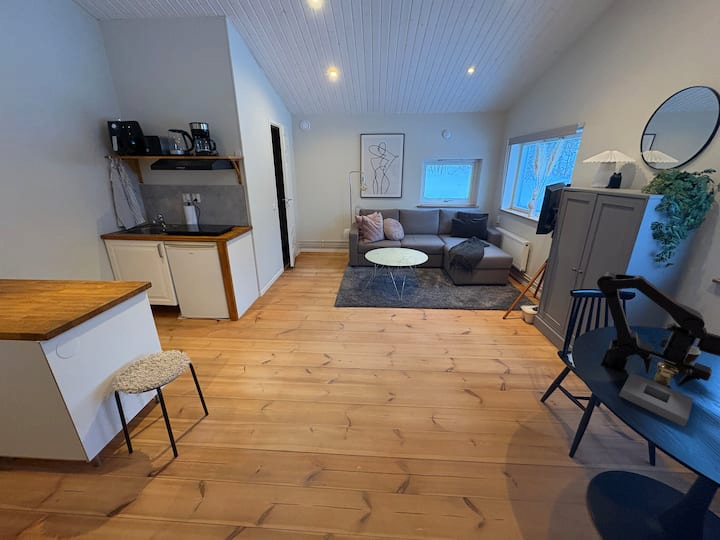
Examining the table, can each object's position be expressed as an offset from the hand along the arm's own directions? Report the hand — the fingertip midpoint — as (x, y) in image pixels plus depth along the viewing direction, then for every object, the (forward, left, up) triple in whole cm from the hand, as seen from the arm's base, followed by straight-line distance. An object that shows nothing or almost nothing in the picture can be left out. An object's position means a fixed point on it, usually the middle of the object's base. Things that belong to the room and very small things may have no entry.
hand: (662, 379), depth 108 cm
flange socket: (0, -14, -2) cm, 14 cm away
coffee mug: (+1, +14, -2) cm, 14 cm away
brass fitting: (0, 0, -2) cm, 2 cm away
